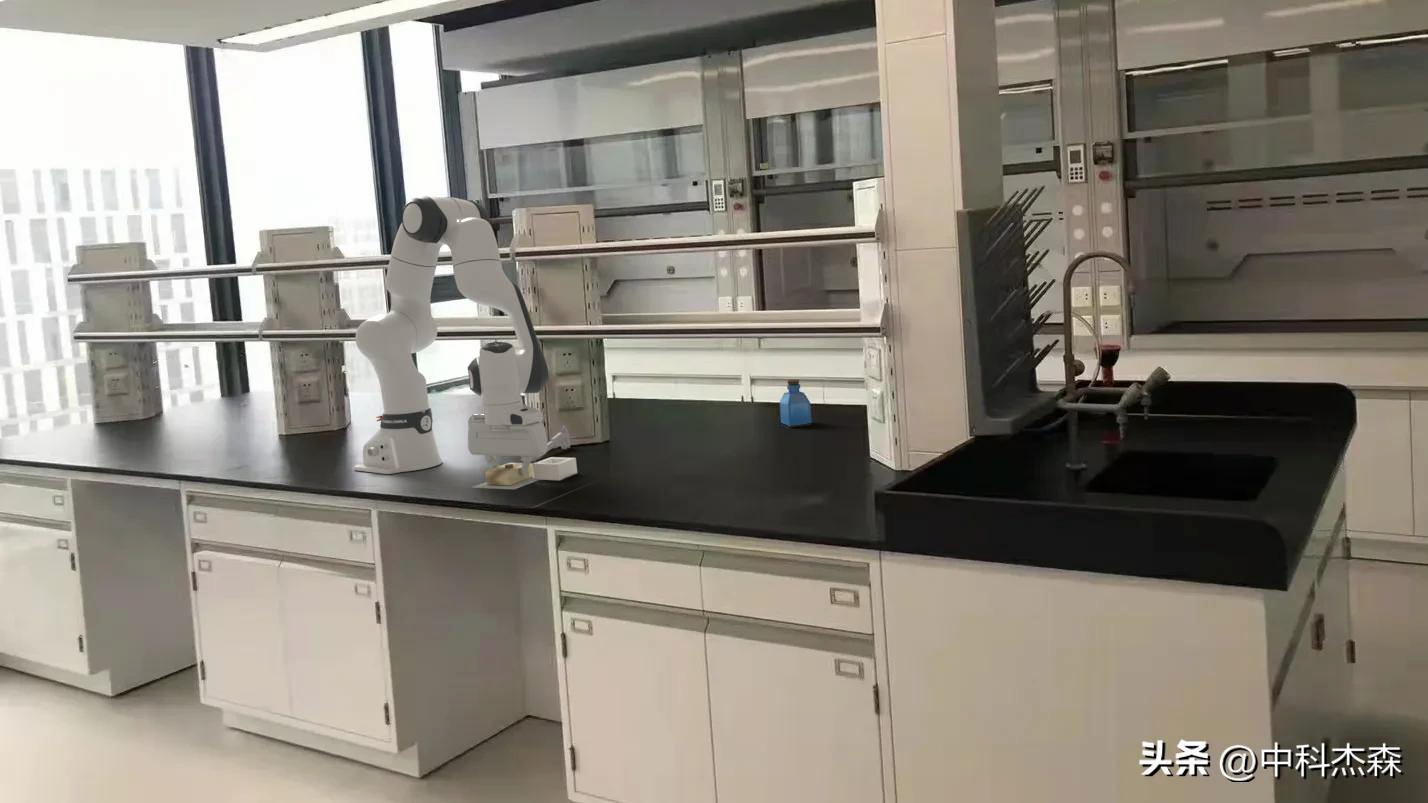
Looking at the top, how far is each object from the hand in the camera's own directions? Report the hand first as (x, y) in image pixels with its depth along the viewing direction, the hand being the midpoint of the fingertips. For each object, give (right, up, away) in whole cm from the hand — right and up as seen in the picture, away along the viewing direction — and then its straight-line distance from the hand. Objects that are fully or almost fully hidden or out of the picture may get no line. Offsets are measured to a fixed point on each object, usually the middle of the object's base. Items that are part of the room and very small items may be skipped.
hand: (510, 474), depth 272 cm
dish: (+10, -1, +2) cm, 10 cm away
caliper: (+5, +2, +29) cm, 30 cm away
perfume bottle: (+68, +10, +45) cm, 82 cm away
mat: (0, -2, 0) cm, 2 cm away
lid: (0, -1, 0) cm, 1 cm away
